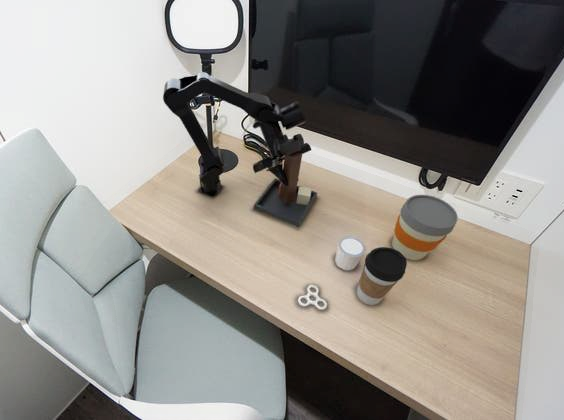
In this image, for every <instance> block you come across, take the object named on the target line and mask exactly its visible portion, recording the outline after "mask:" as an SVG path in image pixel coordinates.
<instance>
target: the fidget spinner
mask: <svg viewBox="0 0 564 420" xmlns="http://www.w3.org/2000/svg"><path fill="white" fill-rule="evenodd" d="M312 288H313V289H314V290H316V291H315V292H314V291H313V292H312V291H311V289H312ZM306 291H307V294H305V295H300V296H299V297H298V299H297V302H298V304H299V305H300V306H301V307H308V306H310V305H313V306H315V308H317V309H318V310H320V311H324V310H325V309H327V307H328V303H327V301H326V300H325V299H324V298H321V297H320V295H319V291H320V289H319V288H318V286H317V285H315V284H310V285H308V286H307V288H306ZM310 297H314V298H315V300H312V299H311V298H310ZM302 299H304V300H306V303H303V302H302ZM318 302H321V303H323V306H320V305H319V304H318Z"/></svg>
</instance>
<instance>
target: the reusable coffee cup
mask: <svg viewBox="0 0 564 420" xmlns="http://www.w3.org/2000/svg"><path fill="white" fill-rule="evenodd" d="M399 213H400V214H399V215H398V216H397V220H396V222H395V226H394V230H393V231H394V235H393V237H392V242H391V246H392V248H393V249H395V250H397V251H399V252H400V253H401V254H402V255H403V256H404V257H405V258H406V260H411V261H419V260H420V261H421V260H422V259H424V258H425V257H426V256H427V255H428V254H429V253H430V252H432V251H433V250H435V249H436V248H437V247H438V246H439V245H440V244H442V242H443V241H444V240H445V239H446V238H447V235H449V234H450V233H452V232H453V230H454V229H455V226H456V224H457V223H458V219H459V218H458V213H457V211H456V209H455V208H454V207H453V206H452V205H451V204H449V203H448V202H446V201H445V200H443V199H441V198H439V197H436V196H433V195H430V194H429V195H428V194H415V195H412V196H409V198H407V199H406V201H405V202H404V204H403V205H402V206H401V208H400V212H399Z"/></svg>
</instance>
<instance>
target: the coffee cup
mask: <svg viewBox="0 0 564 420" xmlns="http://www.w3.org/2000/svg"><path fill="white" fill-rule="evenodd" d="M407 260H408V259H406V258H405V257H404V256H403V255H402V254H401V253H400V252H399V251H397V250H395V249H394V248H393V247H388V246H379V247H376V248H373V249H371V250H370V252H369V253H367V255H366V256H365V259H364V264H363V268H362V271H361V275H360V278H359V282H358V285H357V288H356V295H357V297H358V299H359V300H360V301H361V302H362V303H364V304H366V305H370V306H374V305H378V304H379V303H380V302H381V301H382V300H383V299H384V297H386V295H387V294H389V293H390V291H391V290H392V289H393V288H394V287H395V285H396V284H397V283H398V282H399V281H400V280H401V279H403V278H404V275H405V274H406V269H407V265H408V261H407Z"/></svg>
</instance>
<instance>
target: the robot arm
mask: <svg viewBox="0 0 564 420" xmlns="http://www.w3.org/2000/svg"><path fill="white" fill-rule="evenodd" d="M203 94H207V95H210V96H211V97H213V98H216V99H219V100H221V101H223V102H225V103H227V104H230V105H232V106H234V107H237V108H239V109H241V110H243V111H244V112H245V114H247V115H248V116H249V117H251V118H252V119H253V120H254V123H253V124H252V128H253V129H258V128H259V130H260V132H261V134H262V136H263V140H264V141H265V143H264V144H263V145H264V147H265V148H267V149H268V151H269V154H270V155H269V156H268V157H265V158H263V159H260V160H258V161H257V162H254V163H253V164H252V170H253V172H254V174H257V173H259V172H262V171H263V170H265V169H266V170H265V171H266V172H269V173H271V174H272V175H273V176H275V178H276V179H279V180H280V181H281V182H282V183H283V184H284V185H285V186H289V184H288V181H287V178H286V176H285V173H284V171H283V166H284V162H283V163H280V162H282V161H284V158H285V154H286V155H290V154H293V153H294V152H296V151H298V152H300V153H301V154H302V155H303V154H307V153H308V152H310V151H312V147H311V145H310V144H309V142H305V140H304V137H303V135H302V133H298V134H294V135H293V137H291V138H289V137H288V135H287V134H284V132H283V130H282V129H285V130H286V131H289V130H291V129H293V128H295V127H298V126H300V125H303V124H304V123H306V119H305V115H304V113H303V112H302V110H301V107H300V103H299V102H298V101H297V100H295V101H294V102H291V104H288V105H286V106H284V107H282V108H280V106H279V104H277V103H275V102H274V101H271V99H270V98H269V96H267V95H265V94H261V93H257V92H248V91H244V90H242V89H240V88H237V87H236V86H233V85H231V84H229V83H227V82H225V81H222V80H221V79H218V78H216V77H214V76H212V75H210V74H208V73H207V72H205V71H202V72H199V73H195V74H191V75H185V76H182V77H180V78H169V79H168V80H167V81H166V82H165V83H164V87H163V94H162V100H163V103H164V104H165V106H166V107H167V108H168V109H169V110H170V112H171V113H172V114H174V115H175V116H177V117H178V118H179V119H180V121H181V122H182V124H183V126H184V128H185V130H186V131H187V134H188V135H189V137H190V138H191V140H192V142H193V144H194V145H195V147H196V149H197V151H198V152H199V154H200V156H201V160H202V161H201V162H200V163H199V174H198V178H199V186H200V187H199V188H198V189H197V192H199V193H201V194H203V195H206V196H209V197H211V198H213V197H215V196H216V195H217V194H218V193H219V192H220V191H221V190H222V189H223V185H222V181H221V179H220V176H221V175H222V174H223V172H224V171H225V169H224V167H225V159H224V154H223V152H221V151H220V147H219V146H220V145H217V146H215V147H214V146H213V145H212V144H211V142H210V140H209V139H208V137H207V135H206V133H205V131H204V130H203V127H202V126H201V123H200V122H199V120H198V118H197V116H196V114H195V113H194V111H193V109H192V107H191V101H193V100H195V98H197V97H199V96H200V95H203ZM279 122H280V123H281V125H280V123H279ZM281 126H282V128H281Z"/></svg>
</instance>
